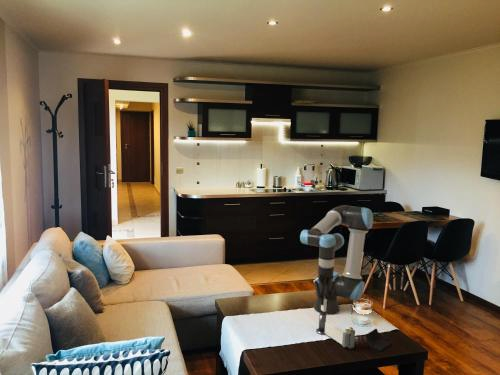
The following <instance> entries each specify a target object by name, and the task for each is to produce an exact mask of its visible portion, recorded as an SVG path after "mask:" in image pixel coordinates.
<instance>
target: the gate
mask: <svg viewBox="0 0 500 375" xmlns="http://www.w3.org/2000/svg"><path fill="white" fill-rule="evenodd" d="M325 334H326V335H327V336H329V337H330V338H331V339H332V340H334V341H336V342H337V343H339V344H340V345H341V346H342V347H343V348H348V347H347V346H349V336H350V334H349V333H347V332H345V330H343V329H341V328H340V327H338V326H336V324H334V323H332V322H331V321H326V322H325Z"/></svg>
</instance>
